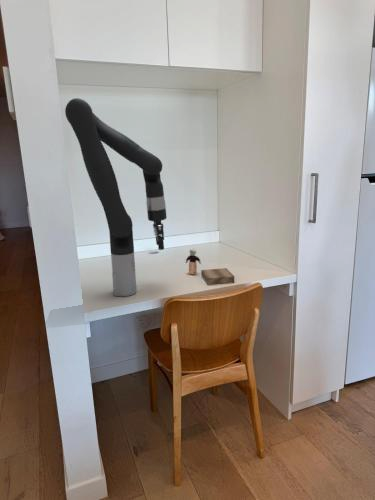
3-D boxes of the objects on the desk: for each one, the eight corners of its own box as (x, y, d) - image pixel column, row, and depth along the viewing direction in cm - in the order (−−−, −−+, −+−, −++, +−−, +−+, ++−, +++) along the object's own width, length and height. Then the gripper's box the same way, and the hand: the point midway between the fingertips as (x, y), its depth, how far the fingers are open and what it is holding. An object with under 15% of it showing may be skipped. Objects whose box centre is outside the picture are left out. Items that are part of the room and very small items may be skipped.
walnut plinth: (207, 285, 149) (207, 278, 148) (201, 276, 160) (201, 270, 159) (234, 282, 151) (234, 276, 150) (226, 274, 162) (226, 268, 161)
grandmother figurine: (184, 275, 162) (184, 249, 159) (185, 272, 166) (185, 247, 163) (200, 275, 161) (200, 249, 158) (201, 273, 165) (201, 247, 161)
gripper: (145, 206, 144) (149, 244, 149) (148, 211, 131) (152, 252, 135) (163, 205, 146) (167, 242, 150) (167, 209, 132) (171, 250, 136)
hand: (160, 247), depth 142 cm, fingers open, 8 cm apart
